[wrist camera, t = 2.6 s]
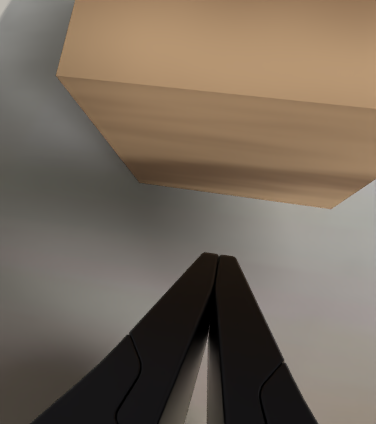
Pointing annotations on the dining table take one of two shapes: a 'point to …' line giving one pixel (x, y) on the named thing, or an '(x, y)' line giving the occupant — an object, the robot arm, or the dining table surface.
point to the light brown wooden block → (231, 93)
